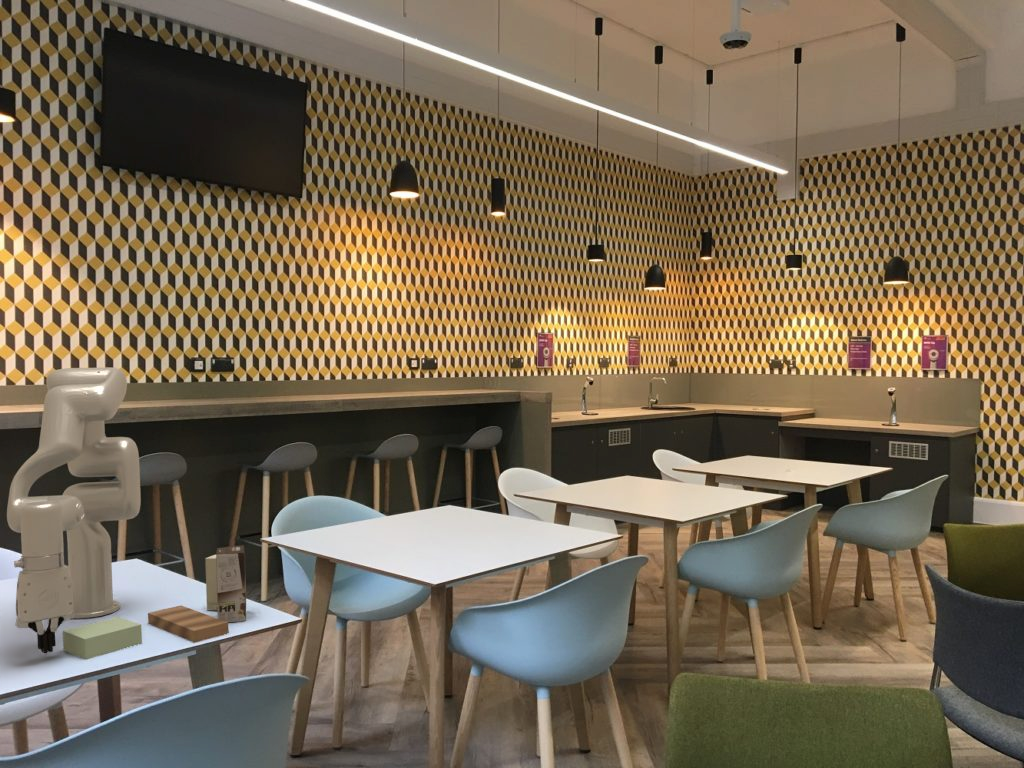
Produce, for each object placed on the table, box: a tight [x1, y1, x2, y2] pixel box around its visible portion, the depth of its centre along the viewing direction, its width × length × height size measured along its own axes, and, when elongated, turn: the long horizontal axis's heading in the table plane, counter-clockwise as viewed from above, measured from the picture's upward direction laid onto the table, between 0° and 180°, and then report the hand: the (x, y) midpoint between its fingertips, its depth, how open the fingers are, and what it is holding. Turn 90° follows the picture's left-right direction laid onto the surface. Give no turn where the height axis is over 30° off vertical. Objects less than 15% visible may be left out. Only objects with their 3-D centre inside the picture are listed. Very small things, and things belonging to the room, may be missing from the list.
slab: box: [62, 616, 143, 660], centre depth 185 cm, size 10×12×4 cm
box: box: [204, 554, 218, 611], centre depth 213 cm, size 5×4×13 cm
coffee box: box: [215, 545, 247, 624], centre depth 205 cm, size 9×6×16 cm
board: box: [147, 605, 229, 644], centre depth 197 cm, size 22×8×3 cm, turn 47°
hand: (46, 651), depth 178 cm, fingers closed
